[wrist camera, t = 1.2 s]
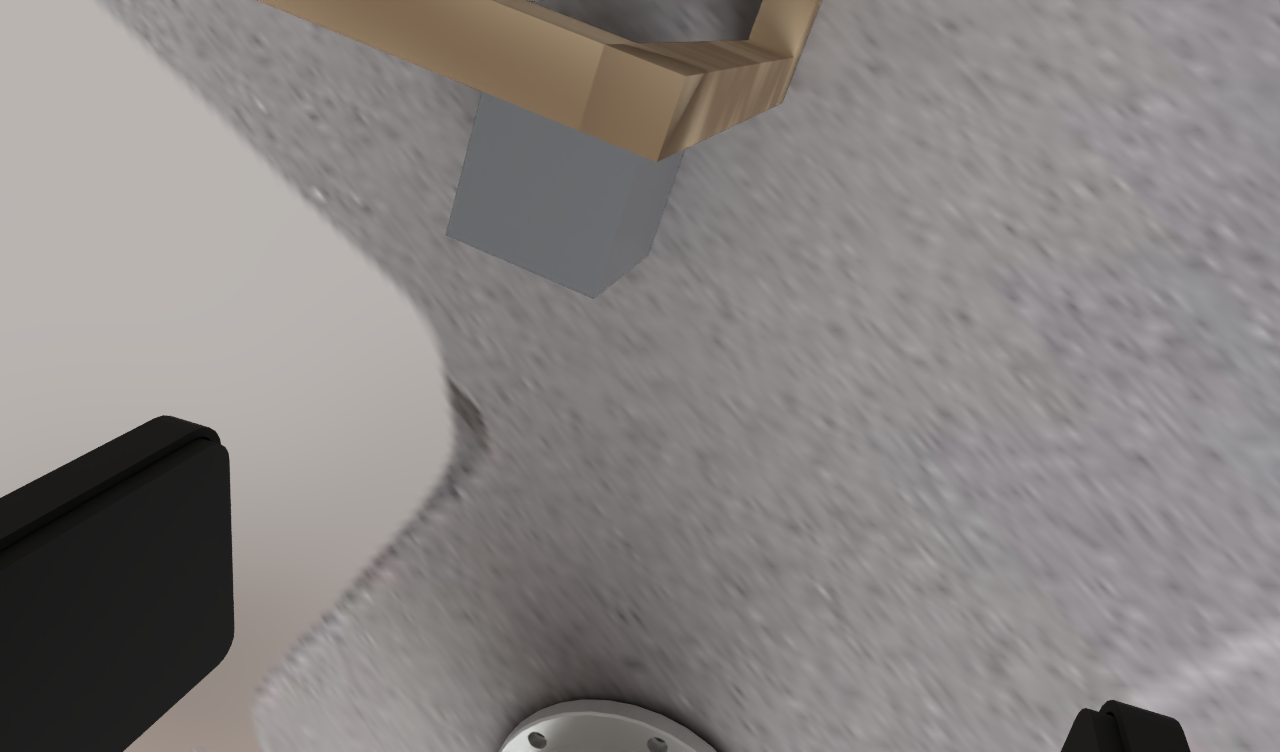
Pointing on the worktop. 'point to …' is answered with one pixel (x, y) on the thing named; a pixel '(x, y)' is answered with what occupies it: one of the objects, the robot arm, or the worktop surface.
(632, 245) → the stone
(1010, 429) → the worktop surface
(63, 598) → the robot arm
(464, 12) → the frame
